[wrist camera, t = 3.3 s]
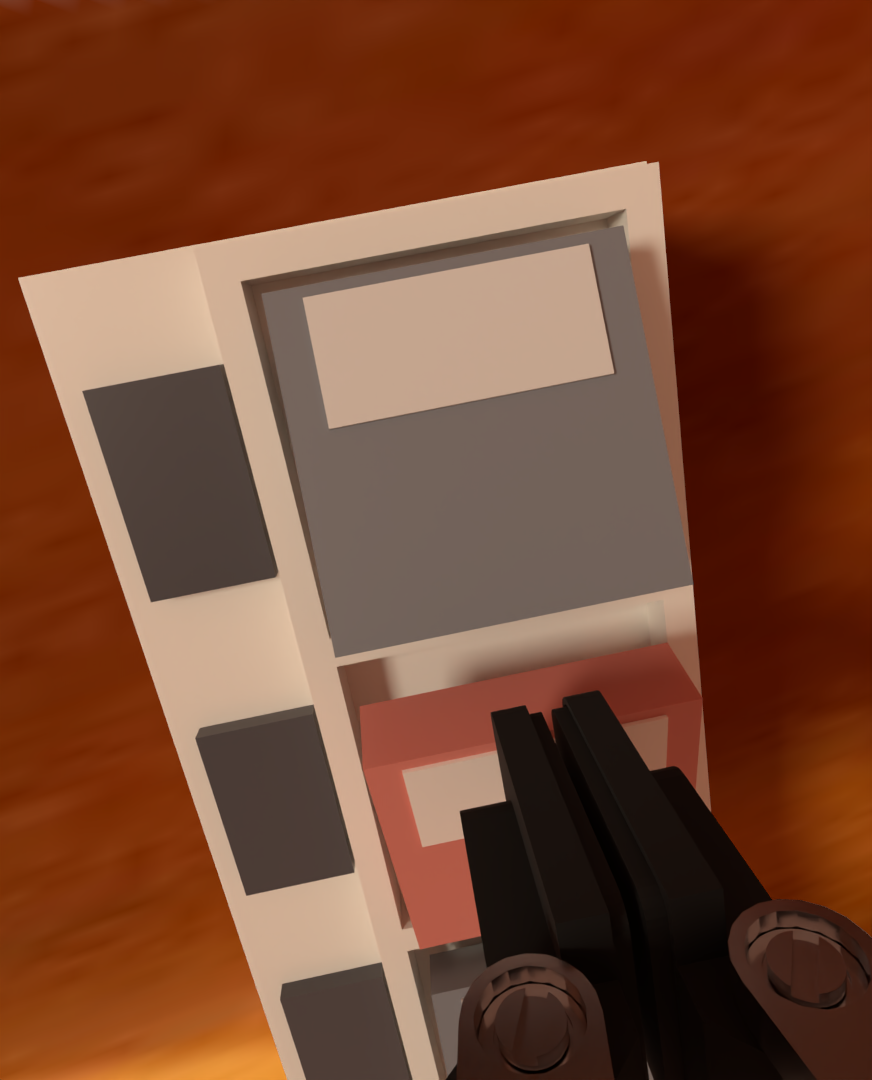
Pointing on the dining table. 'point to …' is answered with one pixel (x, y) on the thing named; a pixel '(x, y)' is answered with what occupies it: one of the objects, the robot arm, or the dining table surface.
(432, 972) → the rocker
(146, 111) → the dining table surface
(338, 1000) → the rocker switch panel
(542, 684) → the rocker mid
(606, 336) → the plate
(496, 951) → the robot arm
